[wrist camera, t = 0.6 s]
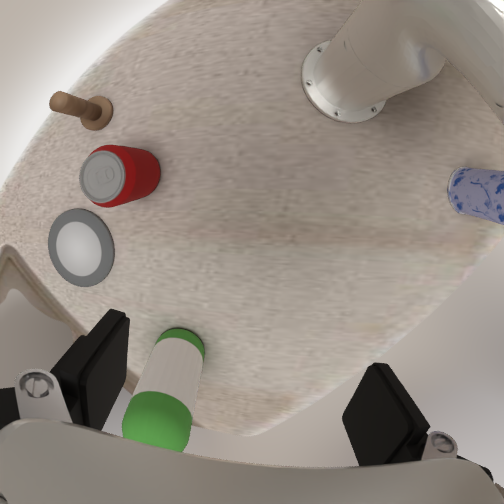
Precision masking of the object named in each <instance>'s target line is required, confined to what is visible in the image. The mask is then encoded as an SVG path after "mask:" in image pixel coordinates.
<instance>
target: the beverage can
mask: <svg viewBox="0 0 504 504" xmlns="http://www.w3.org/2000/svg"><path fill="white" fill-rule="evenodd" d="M159 178H160V168H159V164H158V162H157V160H156V158H155V157H154V156H153V155H152V154H151V153H149V152H148V151H145V150H142V149H137V148H131V147H125V146H118V145H104V146H101V147H99V148H97V149H96V150H94V151H93V152H92V153H91V154H90V155H89V156H88V157H87V159H86V160H85V161H84V163H83V165H82V167H81V170H80V175H79V181H80V186H81V189H82V191H83V193H84V194H85V196H86V197H87V198H89V199H90V200H91V201H92V202H93V203H94V204H96V205H98V206H101V207H106V208H109V207H115V206H118V205H121V204H125V203H128V202H131V201H134V200H137V199H140V198H143V197H145V196H147V195H149V194H150V193H151V192H152V191H153V190H154V189H155V188H156V186H157V184H158V182H159Z"/></svg>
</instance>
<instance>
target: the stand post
mask: <svg viewBox="0 0 504 504" xmlns="http://www.w3.org/2000/svg"><path fill="white" fill-rule="evenodd" d="M49 105H50V109H51V110H52V111H55V112H59V113H64V114H68V115H72V116H76V117H80V119H81V123H82V125H83V126H84V127H85V128H87V129H89V130H100V129H102V128H104V127H105V126H106V125H107V124H108V123H109V122H110V120H111V118H112V115H113V106H112V104H111V102H110V101H109V100H108V99H106V98H104V97H102V96H95V97H92V98H90V99H89V100H88V101H87V100H84V99H81V98H78V97H76V96H73V95H70V94H68V93H65V92H62V91H58V92H56V93H55V94H54V95H53V96H52V97H51V99H50V103H49Z"/></svg>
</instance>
